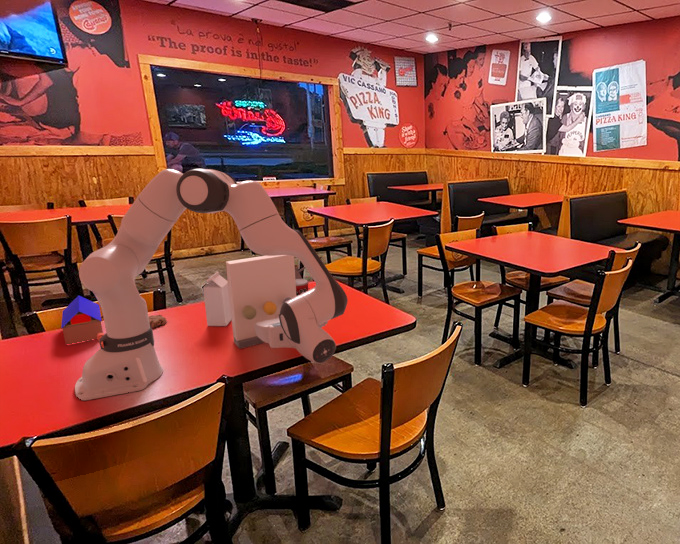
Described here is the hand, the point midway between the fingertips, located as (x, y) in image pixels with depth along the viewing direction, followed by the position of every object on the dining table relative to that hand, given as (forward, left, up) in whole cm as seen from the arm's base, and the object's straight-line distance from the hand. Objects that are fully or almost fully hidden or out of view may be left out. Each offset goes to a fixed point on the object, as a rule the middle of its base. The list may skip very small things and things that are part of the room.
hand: (279, 316), depth 137 cm
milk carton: (-10, +35, -12) cm, 39 cm away
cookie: (-32, +48, -12) cm, 59 cm away
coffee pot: (+32, +50, -12) cm, 61 cm away
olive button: (-7, +9, -2) cm, 11 cm away
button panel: (0, +13, -12) cm, 18 cm away
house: (-54, +54, -12) cm, 78 cm away
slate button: (+7, +9, -2) cm, 11 cm away
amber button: (0, +9, -2) cm, 9 cm away
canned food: (+22, +33, -12) cm, 42 cm away
